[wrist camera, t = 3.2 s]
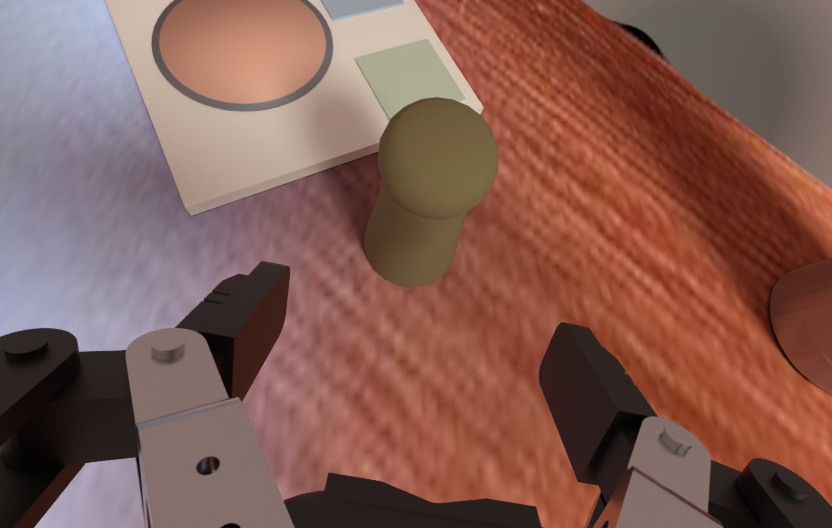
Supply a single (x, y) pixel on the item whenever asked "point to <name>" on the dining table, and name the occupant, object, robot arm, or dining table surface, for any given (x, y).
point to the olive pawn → (427, 188)
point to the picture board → (277, 84)
